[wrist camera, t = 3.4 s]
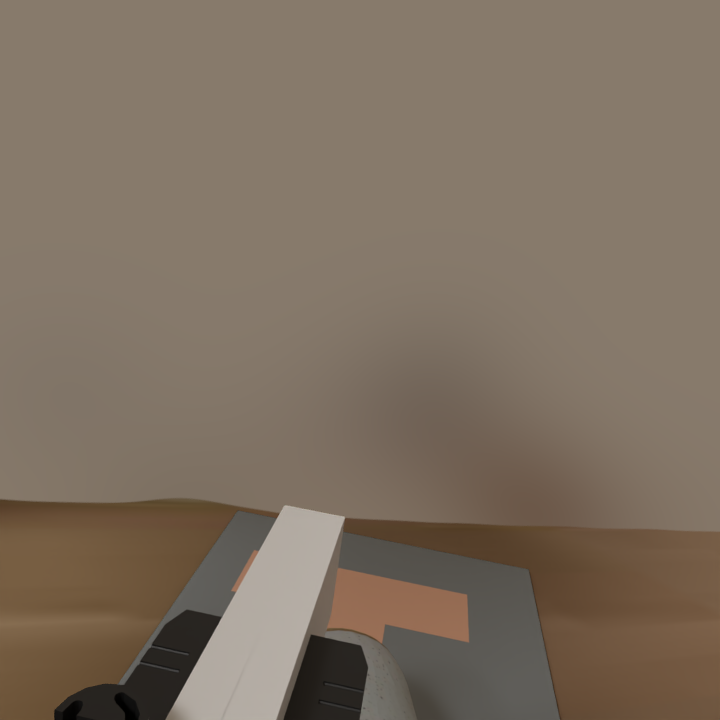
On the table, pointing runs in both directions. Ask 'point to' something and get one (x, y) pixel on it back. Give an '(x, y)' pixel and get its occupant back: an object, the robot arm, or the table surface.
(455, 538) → the table surface
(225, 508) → the table surface
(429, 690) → the t mat
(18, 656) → the table surface
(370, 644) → the ceramic mug
